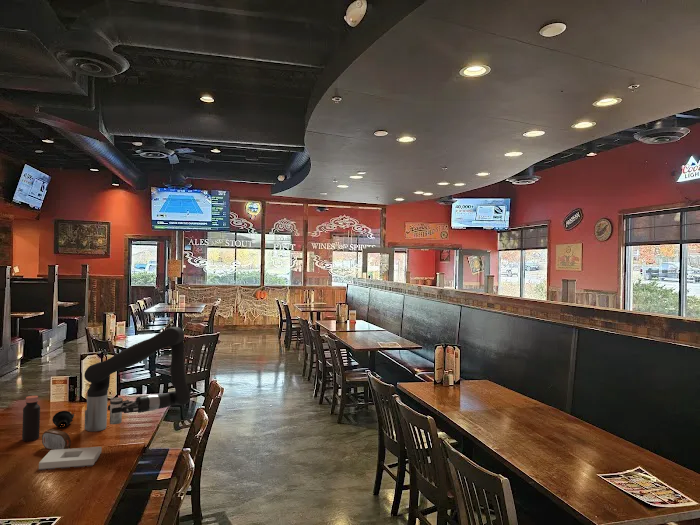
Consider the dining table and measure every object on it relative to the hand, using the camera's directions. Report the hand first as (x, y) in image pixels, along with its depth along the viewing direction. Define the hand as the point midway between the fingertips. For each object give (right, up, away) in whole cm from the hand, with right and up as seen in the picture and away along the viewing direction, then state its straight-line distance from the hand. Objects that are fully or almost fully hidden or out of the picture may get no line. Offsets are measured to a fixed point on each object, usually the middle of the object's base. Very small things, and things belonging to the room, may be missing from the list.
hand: (110, 409), depth 220 cm
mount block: (-8, -17, -17) cm, 25 cm away
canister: (+2, -7, +2) cm, 7 cm away
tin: (-22, -17, -5) cm, 28 cm away
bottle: (-41, -17, +7) cm, 45 cm away
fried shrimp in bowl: (-38, -17, +29) cm, 51 cm away
